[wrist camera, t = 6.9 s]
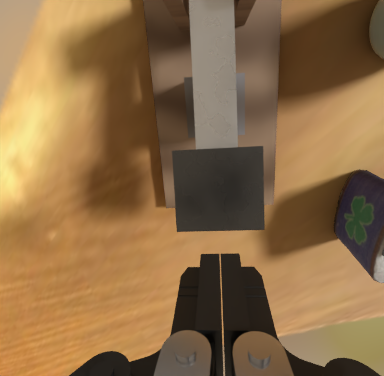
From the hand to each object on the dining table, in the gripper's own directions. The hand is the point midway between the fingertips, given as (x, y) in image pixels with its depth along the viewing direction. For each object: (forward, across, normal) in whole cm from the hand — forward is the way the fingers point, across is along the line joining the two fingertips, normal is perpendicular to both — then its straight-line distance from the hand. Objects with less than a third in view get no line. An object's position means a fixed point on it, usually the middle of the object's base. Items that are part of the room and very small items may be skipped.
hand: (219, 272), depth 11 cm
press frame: (+22, 0, -5) cm, 23 cm away
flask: (+23, -16, +8) cm, 29 cm away
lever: (+12, 0, -6) cm, 14 cm away
